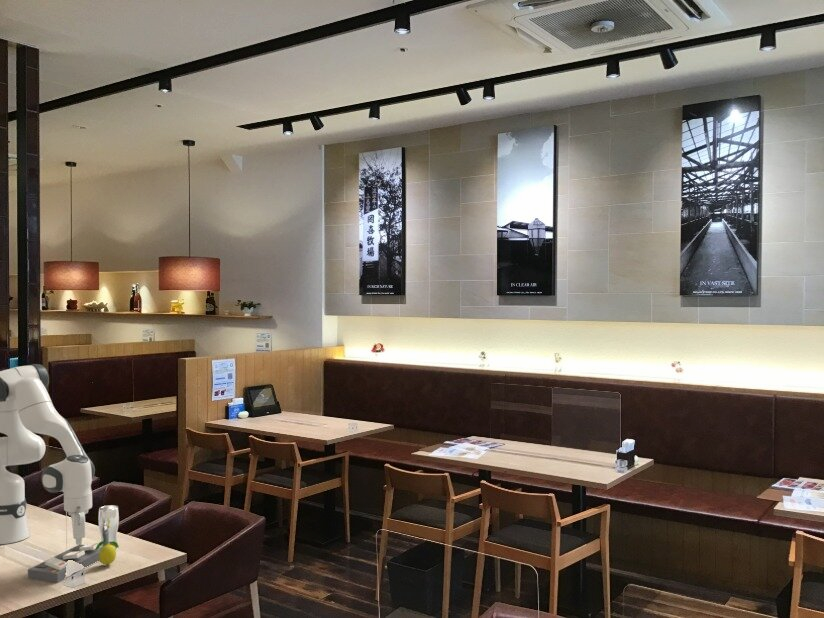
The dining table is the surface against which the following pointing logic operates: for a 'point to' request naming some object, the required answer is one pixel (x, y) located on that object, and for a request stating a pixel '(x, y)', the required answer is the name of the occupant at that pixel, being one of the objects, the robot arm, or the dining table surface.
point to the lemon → (107, 552)
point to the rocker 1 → (56, 563)
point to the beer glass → (108, 523)
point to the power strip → (55, 575)
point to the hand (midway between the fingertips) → (78, 543)
